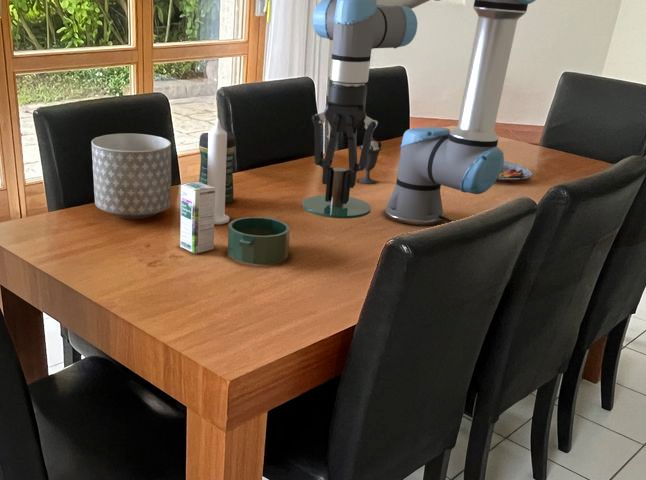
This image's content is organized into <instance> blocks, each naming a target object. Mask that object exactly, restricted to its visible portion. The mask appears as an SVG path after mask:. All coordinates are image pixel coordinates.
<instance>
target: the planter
mask: <svg viewBox="0 0 646 480" xmlns="http://www.w3.org/2000/svg"><path fill="white" fill-rule="evenodd" d="M91 158H92V175H93V193H94V195H93V196H94V205H95V207H96V208H98V209H99V210H101V211H104V212H106V213H109V214H111V215H112V216H115V217H117V218H120V219H124V220H131V221H138V220H144V219H148V218H151V217H153V216H155V215H158V214H159V213H161V212H165V211H167V210H168V209H169V208H170V207H171V205H172V143H171V141H170V140H168V139H167V138H164V137H162V136H158V135H152V134H146V133H145V134H144V133H111V134H104V135H101V136H97V137H94V138H93V139H92V140H91Z"/></svg>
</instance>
